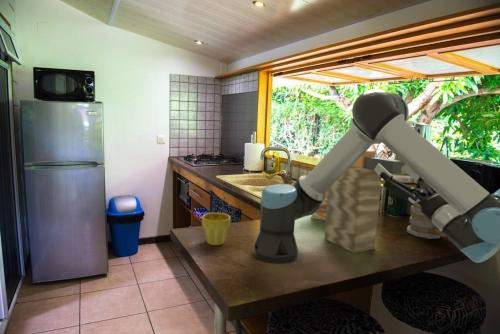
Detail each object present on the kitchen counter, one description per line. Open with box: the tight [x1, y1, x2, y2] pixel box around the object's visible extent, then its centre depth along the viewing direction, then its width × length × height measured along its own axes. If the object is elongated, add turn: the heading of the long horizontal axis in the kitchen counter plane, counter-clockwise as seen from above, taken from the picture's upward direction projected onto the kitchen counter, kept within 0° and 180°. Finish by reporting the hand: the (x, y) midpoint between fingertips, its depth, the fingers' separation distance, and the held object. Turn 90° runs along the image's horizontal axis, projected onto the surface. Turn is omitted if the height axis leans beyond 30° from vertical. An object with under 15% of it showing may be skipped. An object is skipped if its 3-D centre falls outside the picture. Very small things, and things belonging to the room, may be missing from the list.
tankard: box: [406, 203, 447, 240], centre depth 138 cm, size 20×13×15 cm, turn 14°
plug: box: [352, 149, 403, 175], centre depth 115 cm, size 20×6×6 cm, turn 28°
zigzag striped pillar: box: [324, 166, 382, 254], centre depth 124 cm, size 16×10×30 cm, turn 28°
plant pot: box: [201, 212, 232, 246], centre depth 121 cm, size 10×10×10 cm
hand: (391, 166), depth 109 cm, fingers open, 13 cm apart
